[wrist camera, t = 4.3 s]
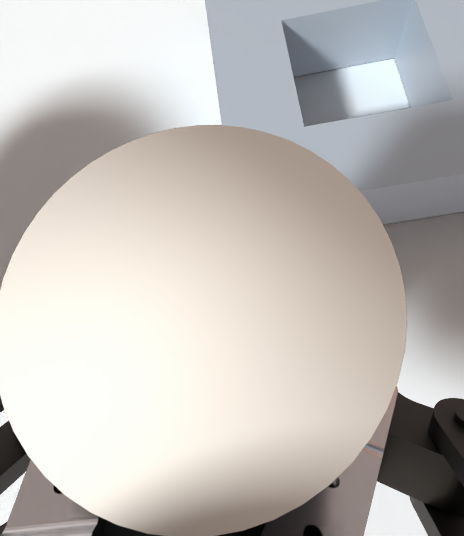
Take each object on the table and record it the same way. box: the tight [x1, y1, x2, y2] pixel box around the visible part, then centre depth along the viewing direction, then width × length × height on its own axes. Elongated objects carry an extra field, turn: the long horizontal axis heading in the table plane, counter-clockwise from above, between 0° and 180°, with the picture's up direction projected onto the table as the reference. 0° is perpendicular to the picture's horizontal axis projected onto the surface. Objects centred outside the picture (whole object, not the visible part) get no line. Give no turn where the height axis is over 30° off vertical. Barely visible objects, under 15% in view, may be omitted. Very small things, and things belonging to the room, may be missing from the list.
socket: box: [205, 0, 464, 225], centre depth 22 cm, size 14×14×4 cm
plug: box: [0, 125, 407, 536], centre depth 12 cm, size 5×5×15 cm
